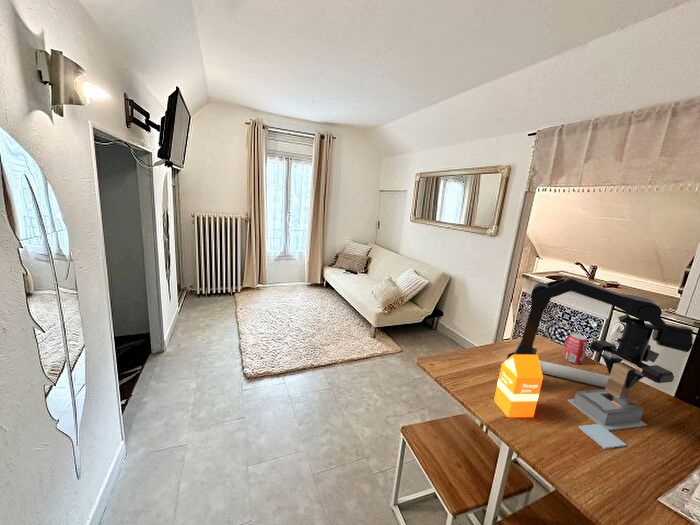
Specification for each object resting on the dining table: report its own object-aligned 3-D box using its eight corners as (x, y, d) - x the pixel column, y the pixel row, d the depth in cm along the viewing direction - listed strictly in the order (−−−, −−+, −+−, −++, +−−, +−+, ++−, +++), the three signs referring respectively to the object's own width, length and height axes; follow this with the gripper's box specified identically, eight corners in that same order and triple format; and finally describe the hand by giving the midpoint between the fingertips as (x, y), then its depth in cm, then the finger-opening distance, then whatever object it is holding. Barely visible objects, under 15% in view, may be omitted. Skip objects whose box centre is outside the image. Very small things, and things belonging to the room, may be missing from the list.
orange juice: (493, 400, 95) (504, 348, 90) (517, 400, 96) (529, 348, 91) (508, 418, 87) (520, 361, 83) (534, 417, 88) (547, 361, 84)
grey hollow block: (607, 431, 84) (611, 417, 83) (567, 400, 97) (570, 388, 96) (646, 426, 87) (651, 412, 86) (603, 397, 100) (606, 385, 99)
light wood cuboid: (618, 399, 86) (628, 371, 84) (604, 390, 90) (613, 363, 87) (628, 398, 87) (638, 370, 84) (614, 389, 90) (623, 362, 88)
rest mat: (604, 449, 78) (605, 447, 78) (578, 427, 85) (578, 425, 85) (625, 446, 79) (626, 444, 79) (598, 425, 87) (598, 423, 86)
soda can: (577, 358, 126) (584, 334, 123) (584, 366, 119) (591, 341, 117) (559, 354, 128) (565, 331, 125) (565, 362, 121) (572, 337, 119)
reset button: (614, 414, 91) (616, 407, 90) (604, 407, 94) (606, 401, 93) (621, 413, 91) (623, 407, 91) (611, 406, 94) (613, 400, 94)
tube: (609, 374, 108) (536, 358, 116) (618, 378, 103) (540, 360, 111) (608, 388, 108) (534, 370, 116) (616, 392, 103) (539, 374, 111)
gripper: (696, 354, 76) (677, 402, 80) (620, 324, 94) (607, 364, 98) (667, 356, 74) (649, 406, 78) (594, 325, 92) (582, 366, 95)
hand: (620, 383), depth 87 cm, fingers closed on light wood cuboid, 4 cm apart
